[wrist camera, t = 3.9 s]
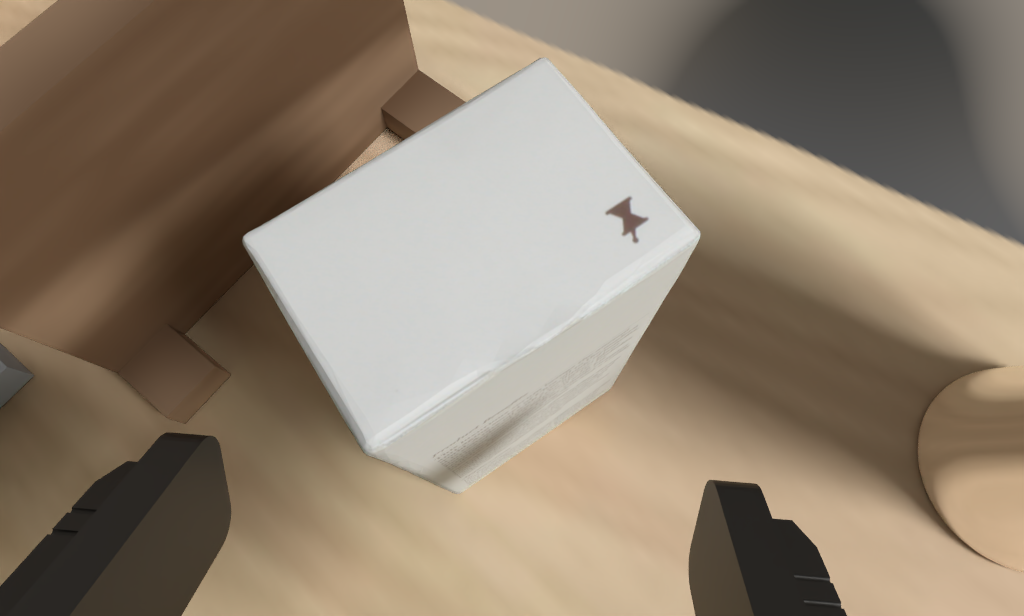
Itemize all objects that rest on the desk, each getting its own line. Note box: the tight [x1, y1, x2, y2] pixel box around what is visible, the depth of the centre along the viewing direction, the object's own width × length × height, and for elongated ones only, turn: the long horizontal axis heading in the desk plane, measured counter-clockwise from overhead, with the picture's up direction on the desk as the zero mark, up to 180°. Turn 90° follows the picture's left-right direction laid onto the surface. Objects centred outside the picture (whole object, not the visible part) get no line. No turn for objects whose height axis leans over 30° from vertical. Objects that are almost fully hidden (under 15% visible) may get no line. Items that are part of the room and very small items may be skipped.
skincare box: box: [242, 58, 700, 494], centre depth 16 cm, size 6×4×12 cm
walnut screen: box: [0, 0, 466, 423], centre depth 19 cm, size 6×14×10 cm, turn 141°
